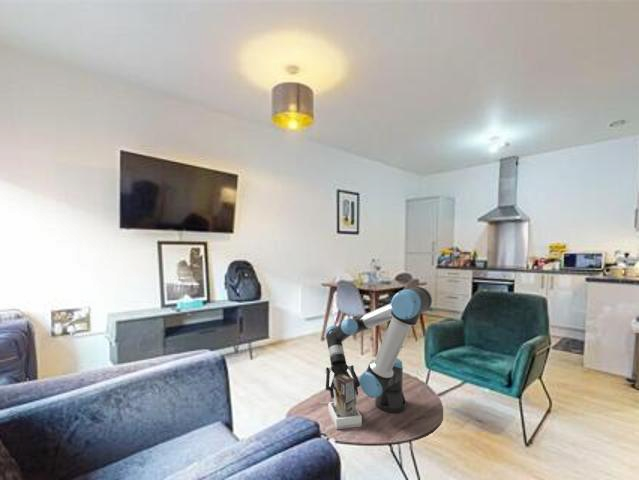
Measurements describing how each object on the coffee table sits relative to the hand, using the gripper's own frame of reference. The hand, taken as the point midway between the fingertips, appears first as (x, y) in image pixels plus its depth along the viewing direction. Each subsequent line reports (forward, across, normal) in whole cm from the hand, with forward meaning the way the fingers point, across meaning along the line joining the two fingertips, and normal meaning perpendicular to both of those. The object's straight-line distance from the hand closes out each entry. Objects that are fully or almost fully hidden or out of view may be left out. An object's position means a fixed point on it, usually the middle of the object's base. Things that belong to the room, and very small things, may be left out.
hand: (346, 404), depth 144 cm
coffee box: (+2, 0, -6) cm, 7 cm away
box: (+4, 0, -8) cm, 9 cm away
